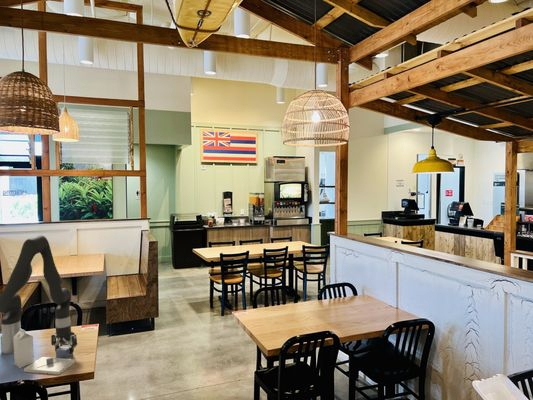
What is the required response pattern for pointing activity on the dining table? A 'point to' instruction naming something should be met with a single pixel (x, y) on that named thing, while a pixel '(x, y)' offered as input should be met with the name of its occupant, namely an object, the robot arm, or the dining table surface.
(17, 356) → the milk carton
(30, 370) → the shaft plate
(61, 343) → the dark brown rounded lump
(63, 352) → the blue-grey block
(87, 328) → the dining table surface
